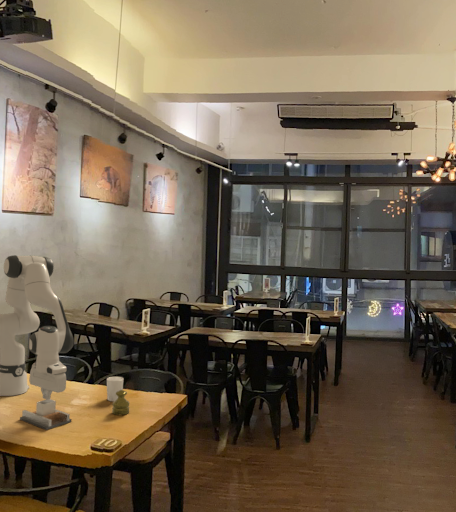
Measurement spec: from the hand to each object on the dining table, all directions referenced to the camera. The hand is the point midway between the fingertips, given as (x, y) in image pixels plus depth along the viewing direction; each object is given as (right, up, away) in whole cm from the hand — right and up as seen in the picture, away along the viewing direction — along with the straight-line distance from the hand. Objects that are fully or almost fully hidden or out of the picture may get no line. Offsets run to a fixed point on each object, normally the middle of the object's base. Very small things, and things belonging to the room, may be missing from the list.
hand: (46, 398), depth 202 cm
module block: (0, -8, 0) cm, 8 cm away
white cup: (+21, -10, +32) cm, 39 cm away
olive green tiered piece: (+28, -10, +13) cm, 33 cm away
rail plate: (0, -9, 0) cm, 9 cm away
